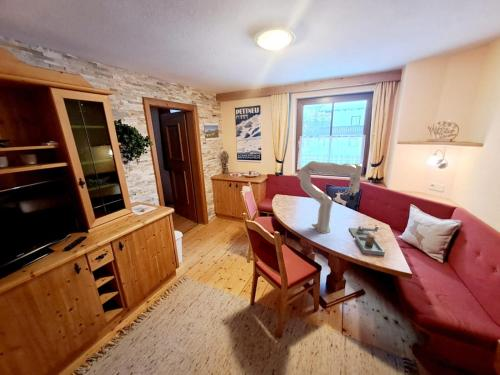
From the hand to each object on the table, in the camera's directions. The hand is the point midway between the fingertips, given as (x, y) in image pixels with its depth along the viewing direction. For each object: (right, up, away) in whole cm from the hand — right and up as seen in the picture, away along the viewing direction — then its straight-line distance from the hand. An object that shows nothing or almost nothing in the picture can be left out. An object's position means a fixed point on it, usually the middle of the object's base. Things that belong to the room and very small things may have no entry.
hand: (351, 200), depth 162 cm
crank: (+12, -25, -3) cm, 28 cm away
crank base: (+6, -28, -1) cm, 29 cm away
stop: (+2, -33, -20) cm, 38 cm away
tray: (+2, -34, -20) cm, 39 cm away
